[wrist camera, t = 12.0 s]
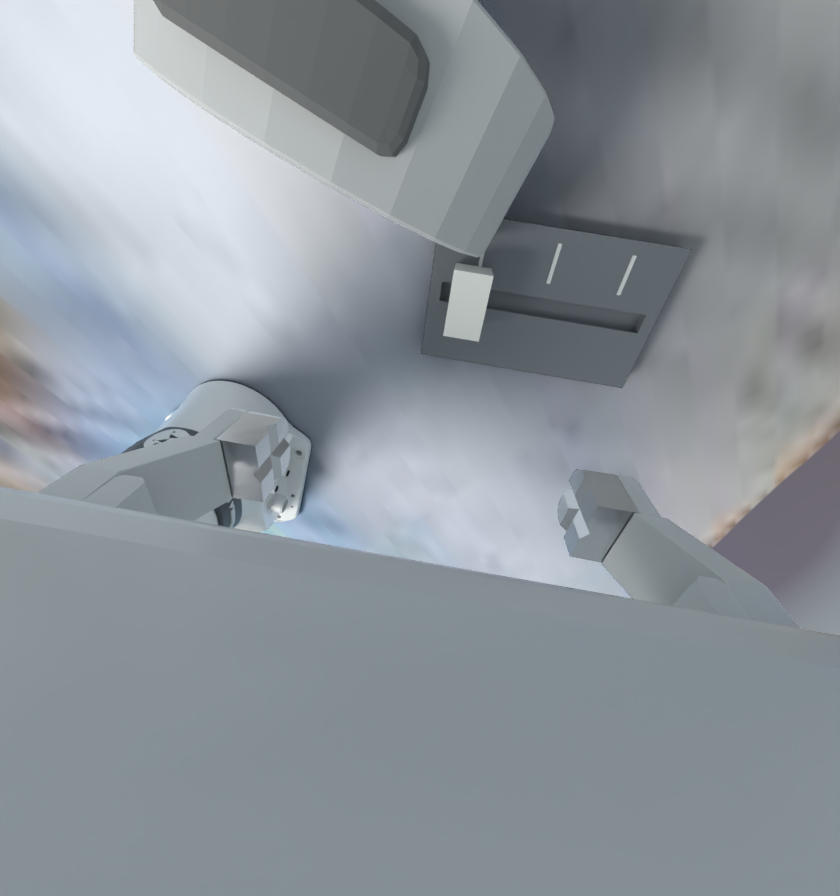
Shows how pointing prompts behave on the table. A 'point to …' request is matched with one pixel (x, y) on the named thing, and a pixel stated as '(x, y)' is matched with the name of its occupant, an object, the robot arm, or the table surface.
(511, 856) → the robot arm
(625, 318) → the fader deck
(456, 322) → the fader knob
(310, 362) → the table surface
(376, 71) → the alarm clock
